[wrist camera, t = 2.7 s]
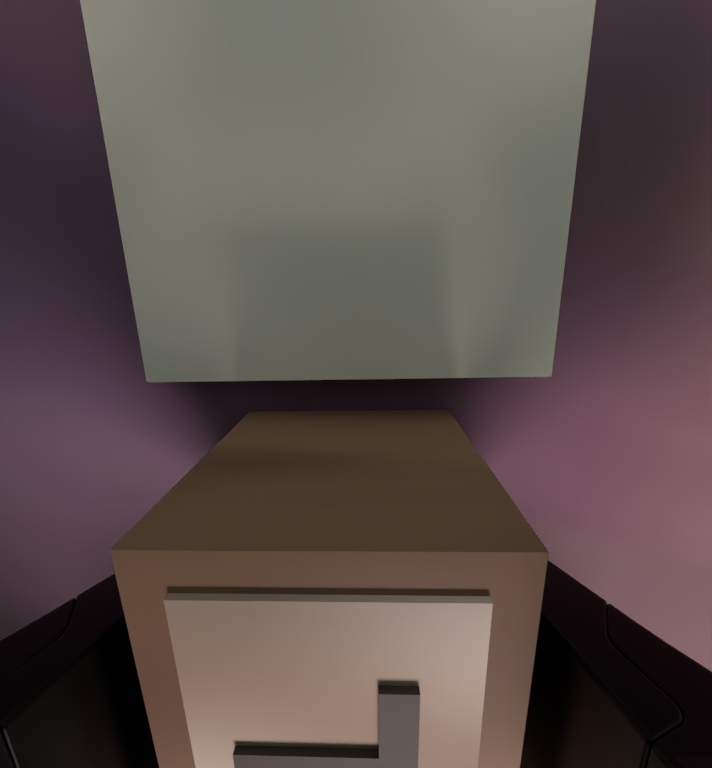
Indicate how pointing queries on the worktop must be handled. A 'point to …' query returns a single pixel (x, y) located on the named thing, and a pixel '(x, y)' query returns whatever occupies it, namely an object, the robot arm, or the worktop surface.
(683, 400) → the worktop surface
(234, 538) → the letter cube
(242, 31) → the coaster
